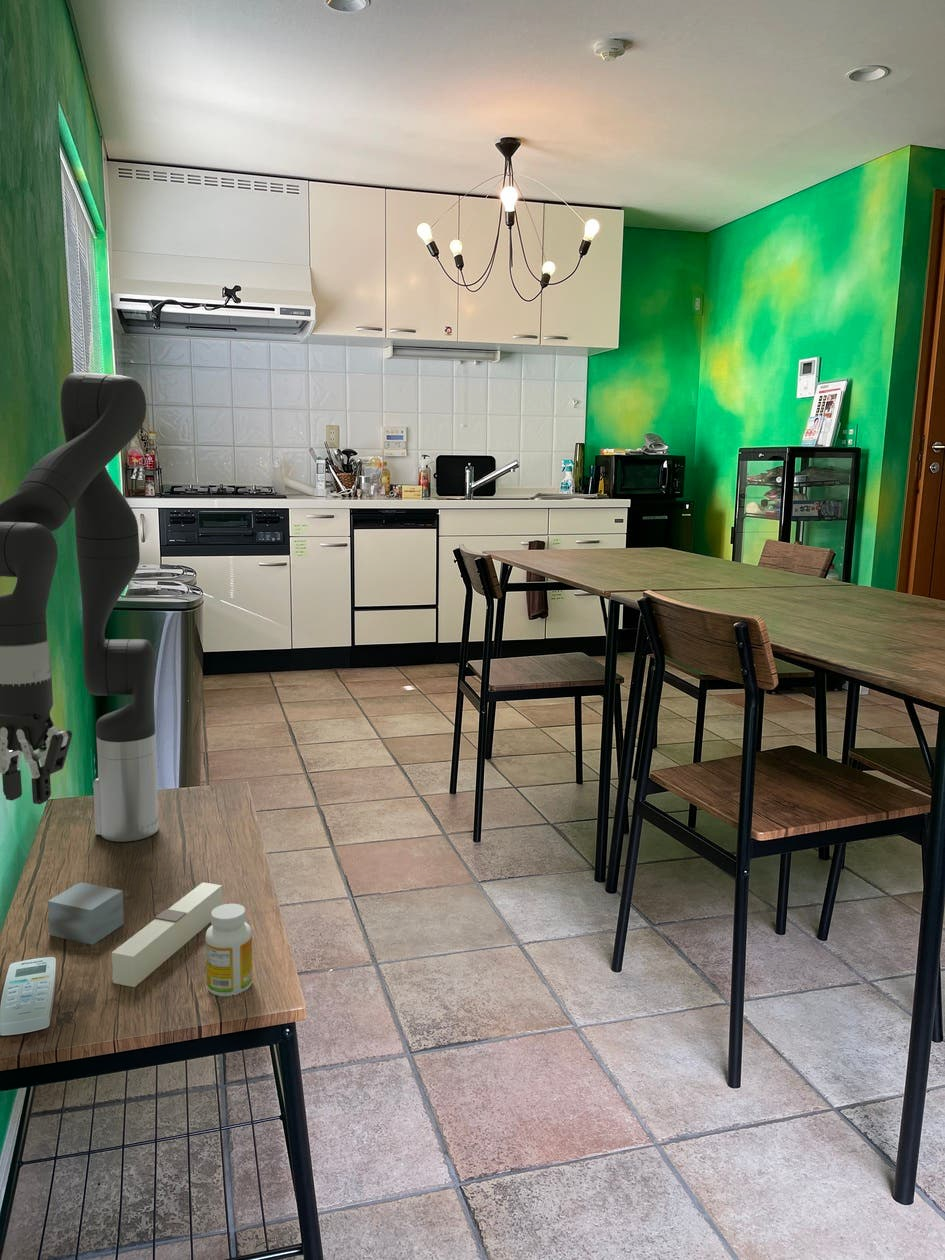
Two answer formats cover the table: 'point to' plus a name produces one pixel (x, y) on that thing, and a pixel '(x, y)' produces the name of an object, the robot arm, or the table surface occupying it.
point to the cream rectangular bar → (164, 935)
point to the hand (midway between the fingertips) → (27, 799)
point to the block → (85, 913)
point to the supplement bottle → (228, 951)
